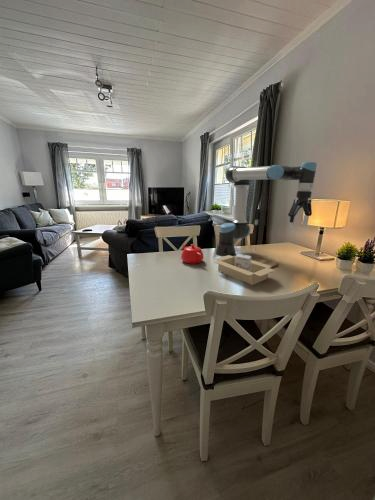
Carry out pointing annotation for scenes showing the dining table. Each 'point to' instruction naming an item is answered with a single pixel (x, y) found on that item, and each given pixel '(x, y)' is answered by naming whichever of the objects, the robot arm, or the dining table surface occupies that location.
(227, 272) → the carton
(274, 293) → the dining table surface
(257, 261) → the board
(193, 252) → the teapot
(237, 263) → the ink box
